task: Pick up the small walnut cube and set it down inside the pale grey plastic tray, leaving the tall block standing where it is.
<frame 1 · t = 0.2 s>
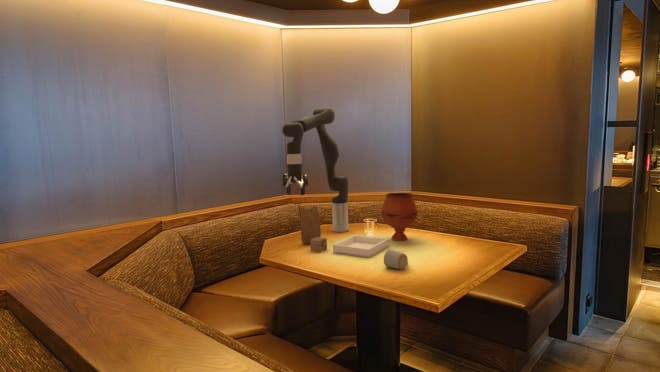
hand: (295, 194, 215), 28 cm above the table, fingers open, 8 cm apart
cube: (318, 250, 215), on the table
block: (311, 242, 231), on the table
grey barrel: (397, 267, 184), on the table
goblet: (399, 239, 232), on the table
tray: (361, 249, 214), on the table
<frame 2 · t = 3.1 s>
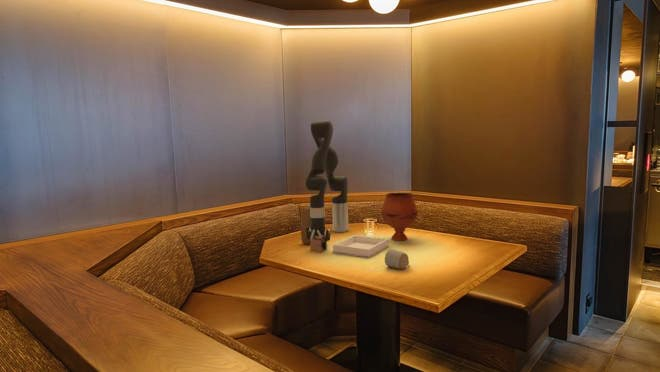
hand: (318, 248, 215), 1 cm above the table, fingers closed on cube, 6 cm apart
cube: (318, 250, 215), on the table, touching gripper
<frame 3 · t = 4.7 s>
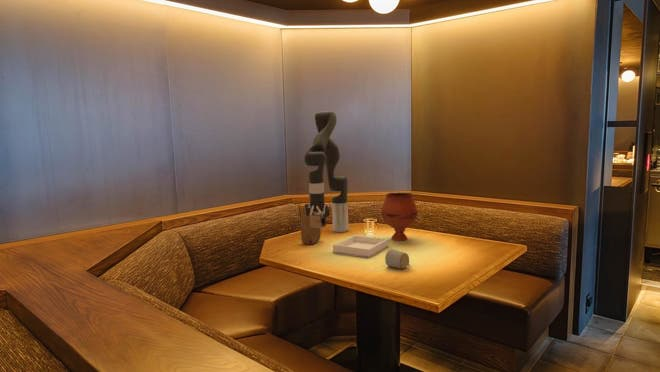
hand: (318, 224, 214), 13 cm above the table, fingers closed on cube, 6 cm apart
cube: (318, 226, 214), point 12 cm above the table, touching gripper
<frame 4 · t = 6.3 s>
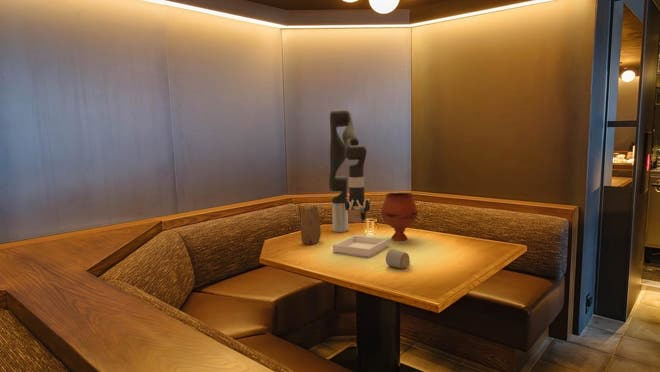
hand: (357, 219, 212), 16 cm above the table, fingers closed on cube, 6 cm apart
cube: (357, 221, 212), point 15 cm above the table, touching gripper
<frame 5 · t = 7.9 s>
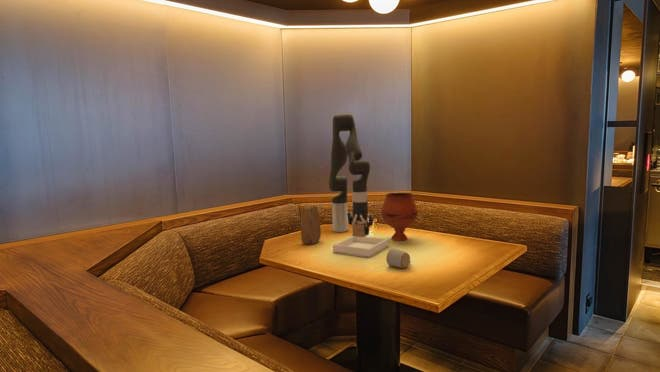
hand: (360, 233, 212), 8 cm above the table, fingers closed on cube, 6 cm apart
cube: (360, 235, 213), point 7 cm above the table, touching gripper
when the fingers open (3 cm above the table, at t = 9.4 s): cube drops 1 cm, resting on tray.
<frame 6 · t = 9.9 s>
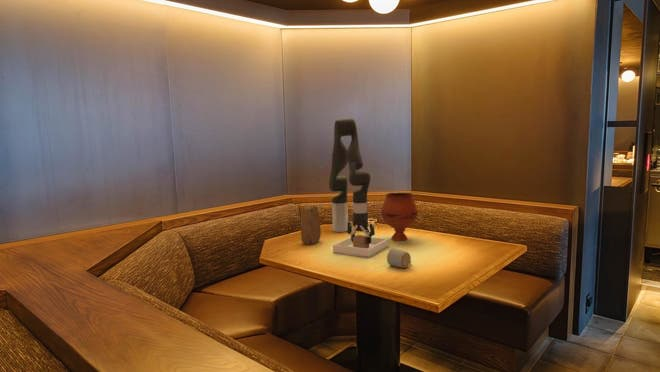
hand: (361, 243, 213), 3 cm above the table, fingers open, 8 cm apart
cube: (361, 248, 213), point 1 cm above the table, touching tray
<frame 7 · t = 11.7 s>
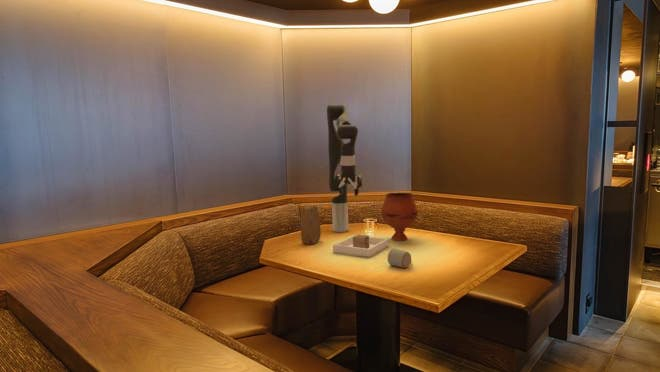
hand: (348, 195, 221), 26 cm above the table, fingers open, 8 cm apart
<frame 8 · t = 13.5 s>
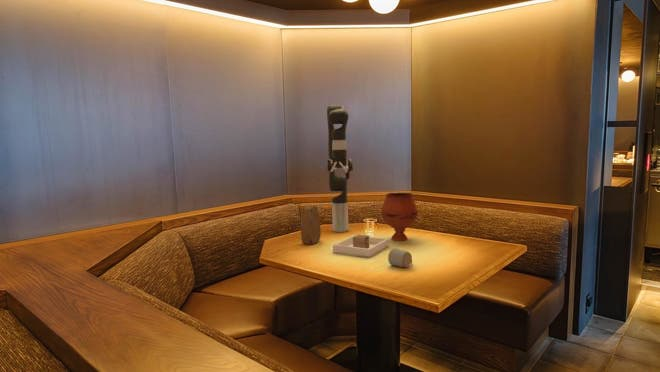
hand: (340, 179, 227), 34 cm above the table, fingers open, 8 cm apart
at the end: cube inside the target area on the tray (0.0 cm from its centre), point 0.8 cm above the tray's base; cube tilted 0°; block moved 0.2 cm from its start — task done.
